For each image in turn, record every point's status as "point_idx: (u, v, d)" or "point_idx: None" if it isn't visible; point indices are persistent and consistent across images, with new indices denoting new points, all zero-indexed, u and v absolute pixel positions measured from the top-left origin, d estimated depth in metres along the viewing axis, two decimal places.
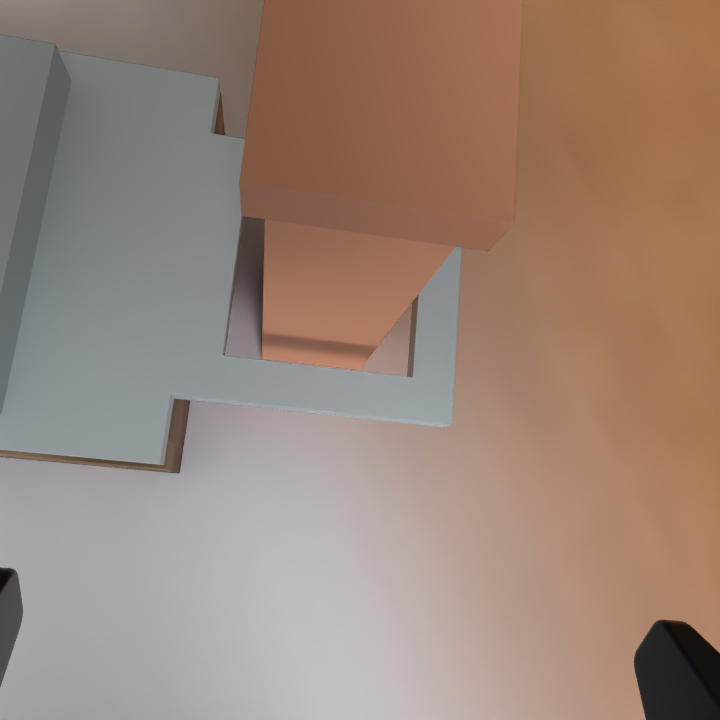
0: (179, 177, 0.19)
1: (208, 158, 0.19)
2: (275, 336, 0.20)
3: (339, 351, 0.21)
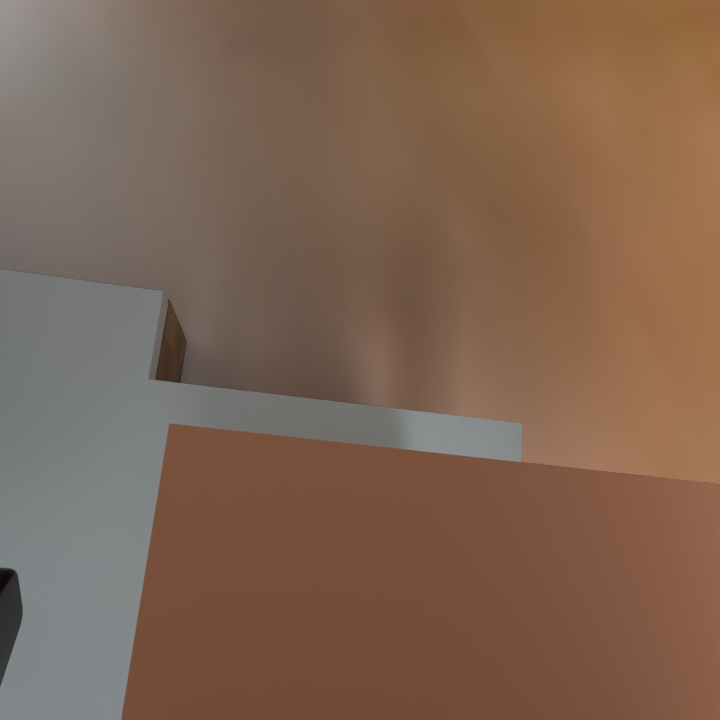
0: (98, 453, 0.13)
1: (144, 419, 0.13)
2: None
3: None
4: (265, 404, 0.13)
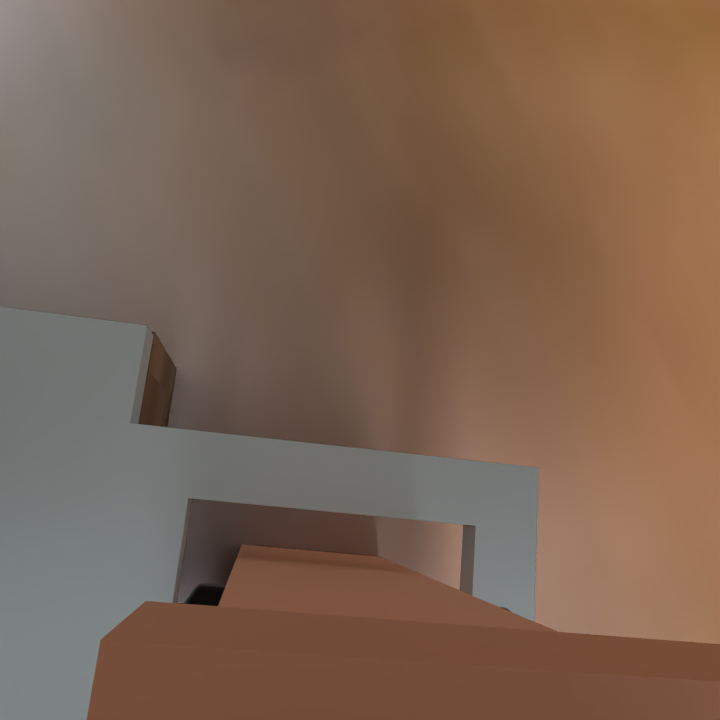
0: (75, 506, 0.12)
1: (125, 468, 0.12)
2: None
3: None
4: (259, 450, 0.12)
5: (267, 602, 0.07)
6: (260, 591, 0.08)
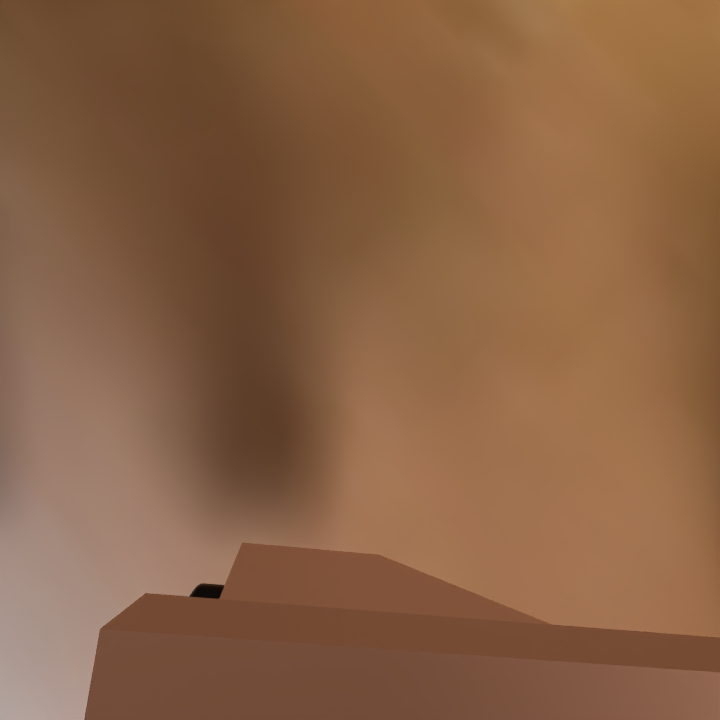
0: None
1: None
2: None
3: None
4: None
5: (267, 598, 0.07)
6: (260, 587, 0.08)
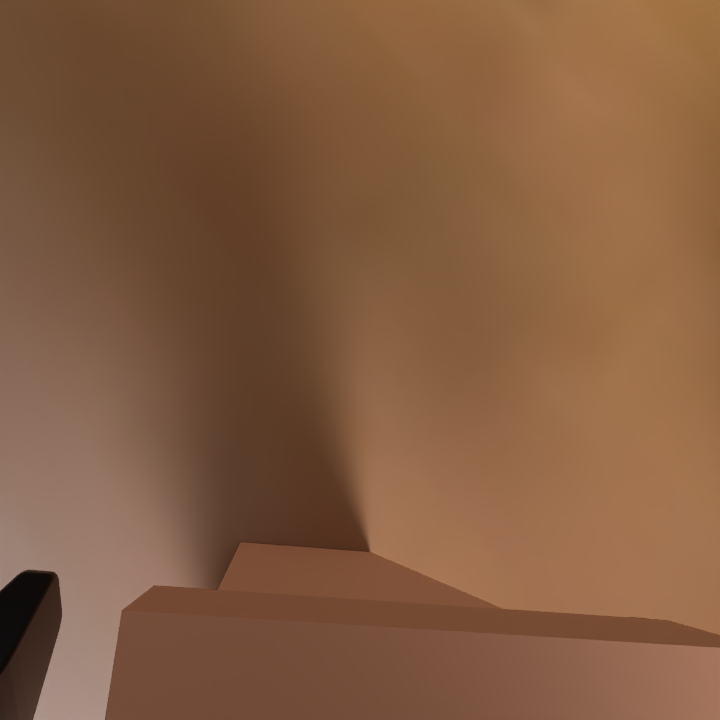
0: None
1: None
2: None
3: None
4: None
5: (259, 591, 0.08)
6: (254, 582, 0.09)
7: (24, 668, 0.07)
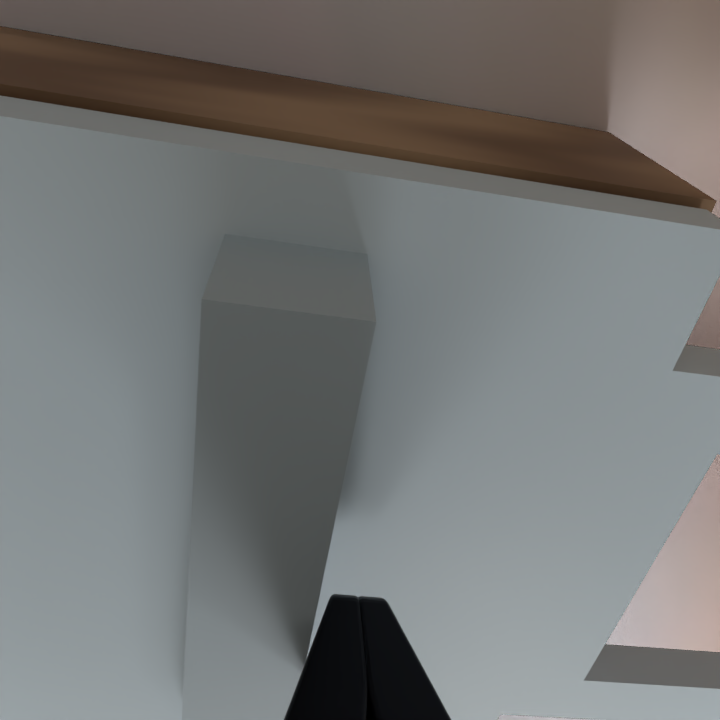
0: (580, 458, 0.09)
1: (650, 421, 0.09)
2: None
3: None
4: None
5: None
6: None
7: None
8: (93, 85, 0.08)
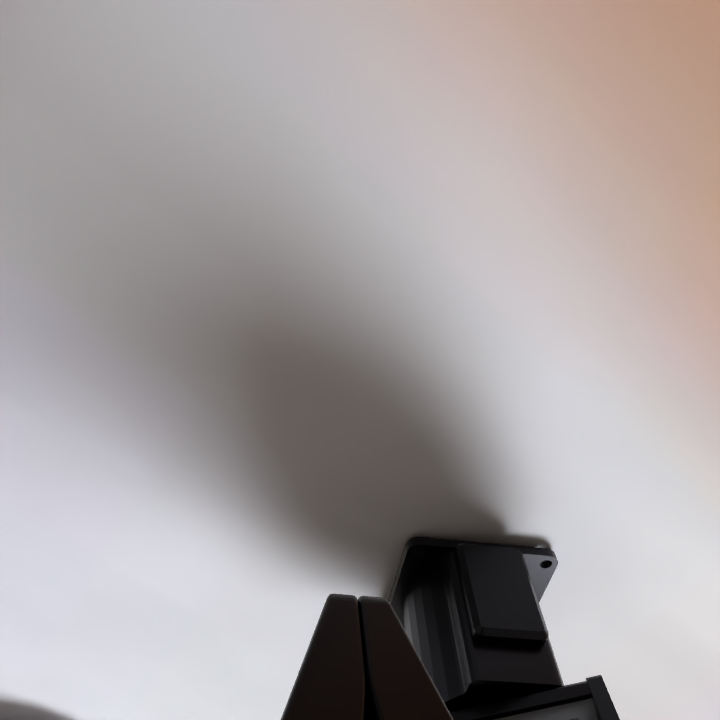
0: None
1: None
2: None
3: None
4: None
5: None
6: None
7: None
8: None
